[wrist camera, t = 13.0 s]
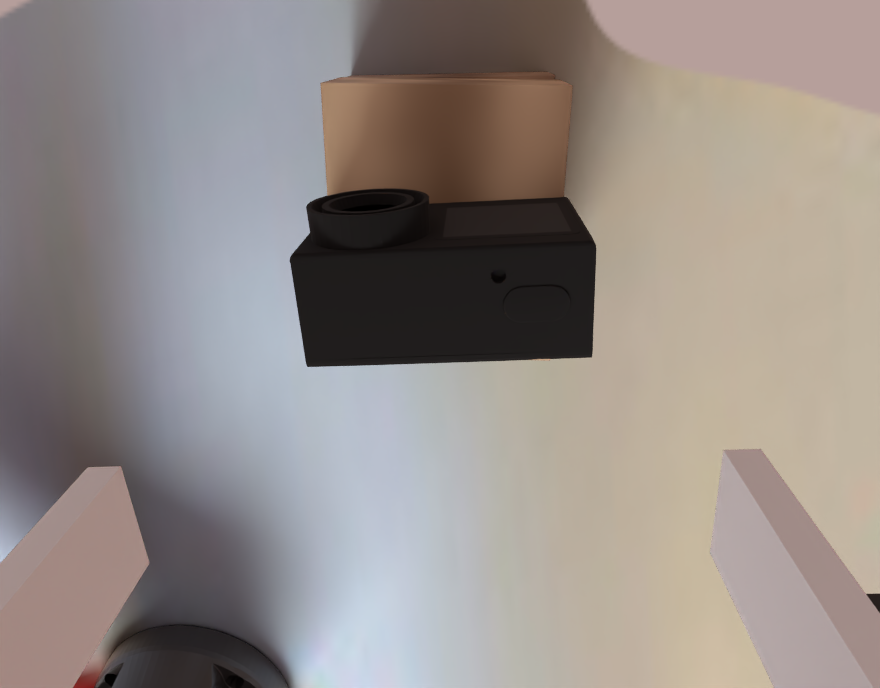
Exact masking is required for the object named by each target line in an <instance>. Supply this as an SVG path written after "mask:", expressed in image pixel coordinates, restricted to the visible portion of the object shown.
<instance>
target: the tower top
mask: <svg viewBox="0 0 880 688" xmlns="http://www.w3.org/2000/svg"><path fill="white" fill-rule="evenodd" d="M572 89H573V86H572V85H570V84H568V83H566V82H564V81H562V80H551V79H457V78H362V77H340V78H337V79H333V80H329V81H326V82H322V83H321V97H322V114H323V130H324V146H325V163H326V179H327V195H333V194H337V193H342V192H348V191H356V190H365V189H383V188H397V189H410V190H417V191H421V192H424V193H426V194H427V195H428V196H429V204H432V203H452V202H473V201H494V200H515V199H535V198H556V197H564V185H565V173H566V161H567V149H568V137H569V125H570V113H571V101H572ZM533 360H550V359H533Z"/></svg>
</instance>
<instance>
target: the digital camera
mask: <svg viewBox="0 0 880 688" xmlns="http://www.w3.org/2000/svg"><path fill="white" fill-rule="evenodd" d="M306 208H307V214H308V221H309V227H310V234H309V235H308V236H307V237H306V239H305V240H304V241H303V242H302V243H301V244H300V246H299V247H298V248H297V249H296V250H295V252H294V253H293V254H292V255H291V257H290V263H291V269H292V276H293V282H294V288H295V295H296V301H297V308H298V314H299V320H300V327H301V333H302V339H303V346H304V352H305V359H306V364H307V367H319V366H357V365H389V364H419V363H449V362H479V361H507V360H533V359H560V358H586V357H592V350H593V320H594V294H595V268H596V245H595V242H594V240H593V238H592V236H591V235H590V233H589V231H588V230H587V228H586V227H585V225H584V223H583V222H582V220H581V218H580V217H579V215H578V214H577V212H576V210H575V209H574V207H573V205H572V204H571V202H570V201H569V199H568V198H567V197H556V198H535V199H515V200H494V201H473V202H452V203H432V204H429V196H428V195H427V194H426V193H424V192H421V191H417V190H410V189H397V188H383V189H365V190H356V191H348V192H342V193H337V194H333V195H328V196H325V197H321V198H319V199H316V200H313V201H312V202H310V203H309V204H308V205H307V207H306Z"/></svg>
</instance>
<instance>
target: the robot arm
mask: <svg viewBox="0 0 880 688" xmlns="http://www.w3.org/2000/svg"><path fill="white" fill-rule="evenodd" d="M710 554H711V556H712V558H713V560H714V562H715V564H716V567H717V569H718V571H719V573H720V575H721V577H722V579H723V581H724V583H725V585H726V588H727V590H728V592H729V594H730V596H731V598H732V600H733V602H734V604H735V606H736V609H737V611H738V613H739V615H740V617H741V619H742V621H743V623H744V625H745V628H746V630H747V632H748V634H749V636H750V638H751V640H752V642H753V644H754V646H755V649H756V651H757V653H758V655H759V657H760V659H761V661H762V663H763V665H764V668H765V670H766V672H767V674H768V676H769V678H770V680H771V682H772V684H773V686H774V688H880V594H866V593H865V592H864V591H863V589H862V588H861V587H860V585H859V584H858V582H857V581H856V580H855V578H854V577H853V575H852V574H851V573H850V571H849V570H848V569H847V567H846V566H845V564H844V563H843V562H842V560H841V559H840V558H839V556H838V555H837V553H836V552H835V551H834V549H833V548H832V547H831V545H830V544H829V542H828V541H827V540H826V538H825V537H824V535H823V534H822V533H821V531H820V530H819V529H818V527H817V526H816V524H815V523H814V522H813V520H812V519H811V518H810V516H809V515H808V513H807V512H806V511H805V509H804V508H803V506H802V505H801V504H800V502H799V501H798V500H797V498H796V497H795V495H794V494H793V493H792V491H791V490H790V489H789V487H788V486H787V484H786V483H785V482H784V480H783V479H782V477H781V476H780V475H779V473H778V472H777V471H776V469H775V468H774V466H773V465H772V464H771V462H770V461H769V460H768V458H767V457H766V455H765V454H764V453H763V451H762V450H761V449H739V450H723V458H722V466H721V473H720V481H719V489H718V496H717V504H716V512H715V519H714V527H713V534H712V542H711V550H710ZM148 565H149V559H148V556H147V553H146V549H145V546H144V542H143V539H142V536H141V532H140V529H139V526H138V522H137V519H136V515H135V512H134V509H133V505H132V502H131V499H130V495H129V492H128V489H127V485H126V482H125V478H124V475H123V472H122V468H121V466H114V467H87V469H86V470H85V471H84V472H83V473H82V474H81V475H80V476H79V477H78V478H77V480H76V481H75V482H74V483H73V484H72V485H71V486H70V487H69V488H68V489H67V491H66V492H65V493H64V494H63V495H62V496H61V497H60V498H59V499H58V500H57V502H56V503H55V504H54V505H53V506H52V507H51V508H50V509H49V510H48V511H47V513H46V514H45V515H44V516H43V517H42V518H41V519H40V520H39V521H38V522H37V524H36V525H35V526H34V527H33V528H32V529H31V530H30V531H29V532H28V534H27V535H26V536H25V537H24V538H23V539H22V540H21V541H20V542H19V543H18V545H17V546H16V547H15V548H14V549H13V550H12V551H11V552H10V553H9V554H8V556H7V557H6V558H5V559H4V560H3V561H2V562H1V563H0V688H73V686H74V685H75V683H76V681H77V680H78V678H79V676H80V675H81V673H82V672H83V670H84V668H85V667H86V665H87V664H88V662H89V660H90V659H91V657H92V655H93V654H94V652H95V651H96V649H97V647H98V646H99V644H100V643H101V641H102V639H103V638H104V636H105V634H106V633H107V631H108V630H109V628H110V626H111V625H112V623H113V622H114V620H115V618H116V617H117V615H118V613H119V612H120V610H121V609H122V607H123V605H124V604H125V602H126V601H127V599H128V597H129V596H130V594H131V592H132V591H133V589H134V588H135V586H136V584H137V583H138V581H139V580H140V578H141V576H142V575H143V573H144V571H145V570H146V568H147V567H148ZM94 688H288V687H287V684H286V682H285V680H284V678H283V677H282V675H281V674H280V672H279V671H278V669H277V668H276V667H275V666H274V665H273V664H272V663H271V662H270V661H269V660H268V659H267V658H266V657H265V656H264V655H263V654H261V653H260V652H259V651H257V650H256V649H255V648H253V647H251V646H250V645H248V644H246V643H245V642H243V641H241V640H239V639H237V638H234V637H232V636H230V635H227V634H224V633H221V632H218V631H215V630H211V629H206V628H201V627H194V626H163V627H157V628H152V629H149V630H145V631H142V632H140V633H137V634H135V635H133V636H131V637H130V638H128V639H127V640H125V641H124V642H122V643H121V644H120V645H119V646H118V647H117V648H116V649H115V651H114V652H113V653H112V655H111V656H110V658H109V660H108V661H107V663H106V665H105V667H104V668H103V670H102V672H101V673H100V675H99V677H98V679H97V681H96V684H95V686H94Z"/></svg>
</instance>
